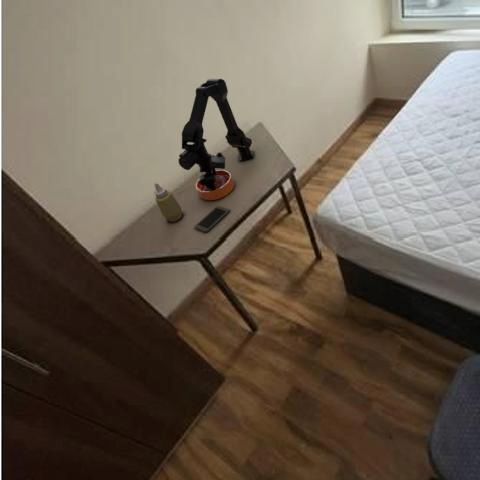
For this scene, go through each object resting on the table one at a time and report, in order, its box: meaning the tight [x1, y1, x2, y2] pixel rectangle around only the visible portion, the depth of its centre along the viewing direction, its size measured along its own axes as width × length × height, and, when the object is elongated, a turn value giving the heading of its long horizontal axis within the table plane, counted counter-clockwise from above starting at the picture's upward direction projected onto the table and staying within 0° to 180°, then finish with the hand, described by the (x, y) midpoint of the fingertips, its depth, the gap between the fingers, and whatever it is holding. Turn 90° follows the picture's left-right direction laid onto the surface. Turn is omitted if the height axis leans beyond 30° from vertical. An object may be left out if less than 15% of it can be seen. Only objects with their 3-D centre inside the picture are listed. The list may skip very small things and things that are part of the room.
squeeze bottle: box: [154, 182, 183, 223], centre depth 163 cm, size 8×8×18 cm
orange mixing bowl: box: [195, 169, 235, 201], centre depth 177 cm, size 16×16×5 cm
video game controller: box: [205, 175, 226, 191], centre depth 177 cm, size 10×5×7 cm, turn 84°
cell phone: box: [194, 206, 230, 233], centre depth 163 cm, size 7×14×1 cm, turn 146°
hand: (215, 185), depth 177 cm, fingers open, 9 cm apart
